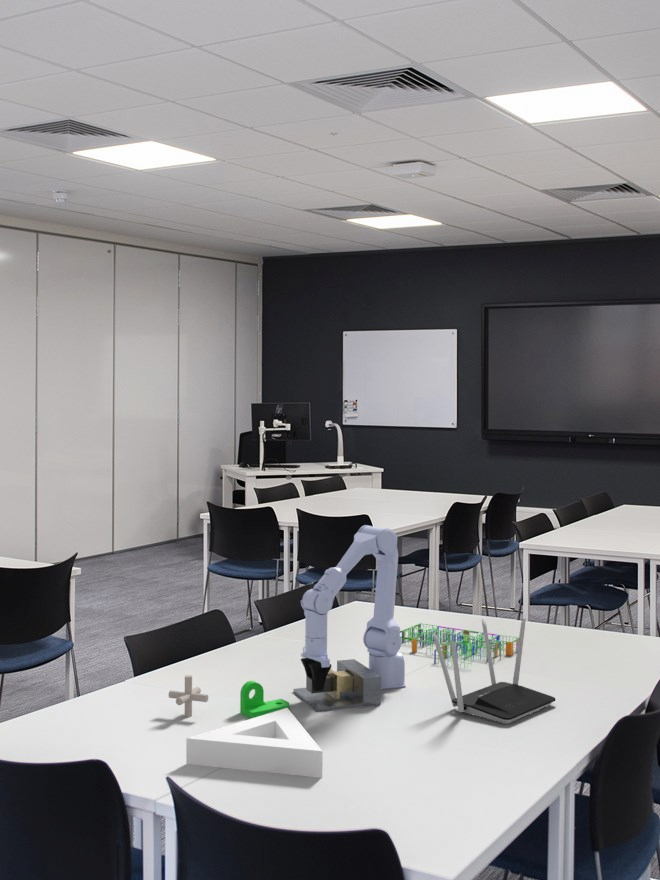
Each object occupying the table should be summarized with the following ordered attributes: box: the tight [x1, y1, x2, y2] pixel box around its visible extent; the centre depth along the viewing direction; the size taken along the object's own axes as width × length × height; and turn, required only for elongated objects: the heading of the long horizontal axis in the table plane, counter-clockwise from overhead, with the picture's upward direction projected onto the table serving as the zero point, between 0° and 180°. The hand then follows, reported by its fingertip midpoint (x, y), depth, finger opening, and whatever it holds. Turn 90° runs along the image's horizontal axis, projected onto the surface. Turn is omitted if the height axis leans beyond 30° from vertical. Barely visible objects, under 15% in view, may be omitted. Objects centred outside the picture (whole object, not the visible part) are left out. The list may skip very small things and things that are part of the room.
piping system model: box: [400, 622, 519, 669], centre depth 311 cm, size 35×30×5 cm
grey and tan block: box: [305, 668, 353, 699], centre depth 261 cm, size 11×9×6 cm
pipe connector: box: [168, 674, 209, 718], centre depth 246 cm, size 10×10×10 cm
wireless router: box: [432, 618, 556, 725], centre depth 256 cm, size 34×23×20 cm
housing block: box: [293, 658, 382, 713], centre depth 262 cm, size 18×18×8 cm
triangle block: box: [185, 708, 324, 778], centre depth 217 cm, size 30×26×6 cm
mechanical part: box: [239, 680, 290, 719], centre depth 250 cm, size 12×6×8 cm, turn 124°
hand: (315, 688), depth 259 cm, fingers closed on grey and tan block, 4 cm apart
